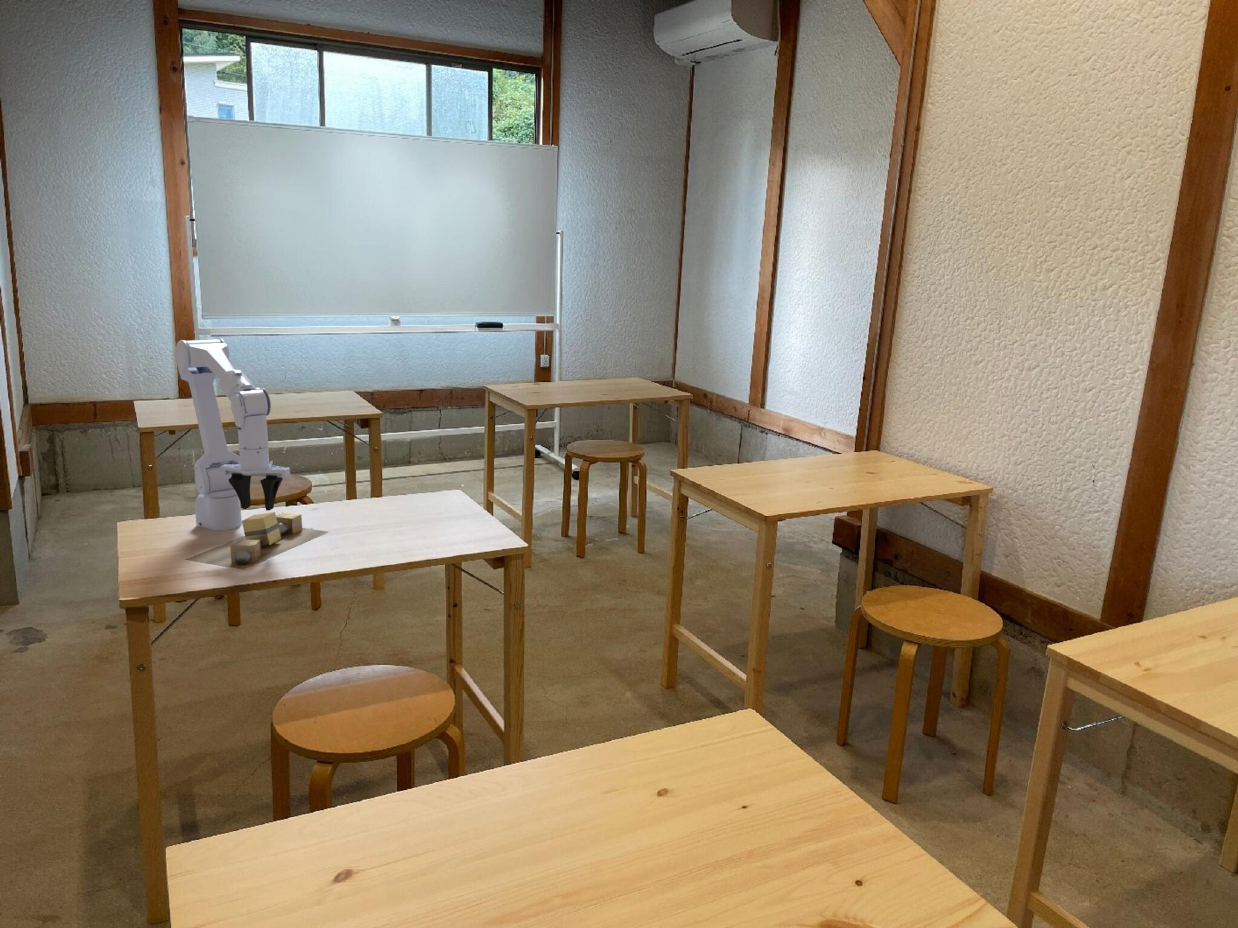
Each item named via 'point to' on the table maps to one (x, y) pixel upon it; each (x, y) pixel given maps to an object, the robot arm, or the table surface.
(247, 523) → the tan wooden block
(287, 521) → the shaft
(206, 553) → the board
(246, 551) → the shaft
